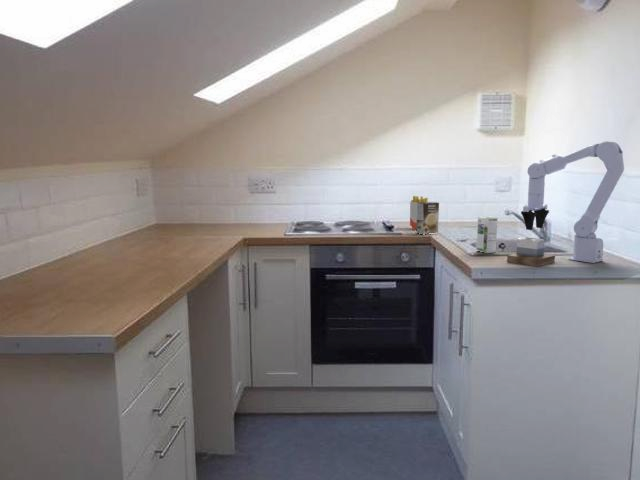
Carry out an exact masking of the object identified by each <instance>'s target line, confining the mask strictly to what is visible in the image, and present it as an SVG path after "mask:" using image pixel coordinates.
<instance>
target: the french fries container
mask: <svg viewBox="0 0 640 480" xmlns="http://www.w3.org/2000/svg"><path fill="white" fill-rule="evenodd" d="M428 200H429V198H428V197H423V196H420V198H419V196H418V195H413V196H412V199H411V201H410V202H409V204H410V205H409V207H410V208H409V211H410V212H409V226H410V227H411V228H412V230H414V229H417V203H419V202H429V201H428Z"/></svg>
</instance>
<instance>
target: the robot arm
mask: <svg viewBox="0 0 640 480" xmlns="http://www.w3.org/2000/svg"><path fill="white" fill-rule="evenodd" d="M623 153H624V152H623V150H622V148H621V147H620V145H619V144H618V143H617V142H614V141H608V140H607V141H603V142H599V143H595V144H591V145H588V146H585V147H583V148H580V149H578V150H576V151H574V152H571V153H569V154H566V155H561V154H552V155H551V157H549V158H547V159H544V160H543V159H540V160H539V162H534V163H532V164H530V165H529V166H528V168H527V174H528V179H529V180H528V192H527V195H528V196H527V204H525V205H524V206H522V211H520V214H521V216H522V218H523V221H524V224H525V228H526V229H525V230H528V231H532V230H533V229H534V221H535V227H536V228H537V229H543V227H544V223H545V220H546V218H547V216H548V214H549V213H550V210H549V209H548V204H546V203H545V204H544V201H545V200H544V199H545V183H546V182H545V178H546V176H547V175H551V174H553V173H556V172H560V171H562V170H564V169H566V166H567V165H568V164H571V163H573V162H577V161H580V160H582V159H586V158H589V157H591V158H598V159H599V160H601V162H603V164H604V166H605V168H606V172H605V174H604V176H603V178H602V180H601V181H600V184H599V185H598V187H597V190H596V192H595V193H594V195H593V196H592V199H591V200H590V202H589V204H588V206H587V209H586V210H585V211H584V213H583V214H582V216H581V217H580V219H578V221H576V222H575V223H574V225H573V232H574V233H575V234H574V237H573V254H572V257H568V258H567V259H568V260H571V261H576V262H585V263H592V264H595V263H599V262H602V261H603V260H604V258H603V252H604V240H603V239H602V238H599V237H597V235H596V233H595V232H596V231H597V230H598V222H599V220H600V217H601V214H602V212H603V210H604V208H605V207H606V205H607V202H608V201H609V199H610V197H611V196H612V194H613V192H614V190H615V187H616V186H617V185H618V182H619V180H620V179H621V177H622V175H623V173H624V171H625V165H624V158H623V157H624V155H623Z"/></svg>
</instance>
